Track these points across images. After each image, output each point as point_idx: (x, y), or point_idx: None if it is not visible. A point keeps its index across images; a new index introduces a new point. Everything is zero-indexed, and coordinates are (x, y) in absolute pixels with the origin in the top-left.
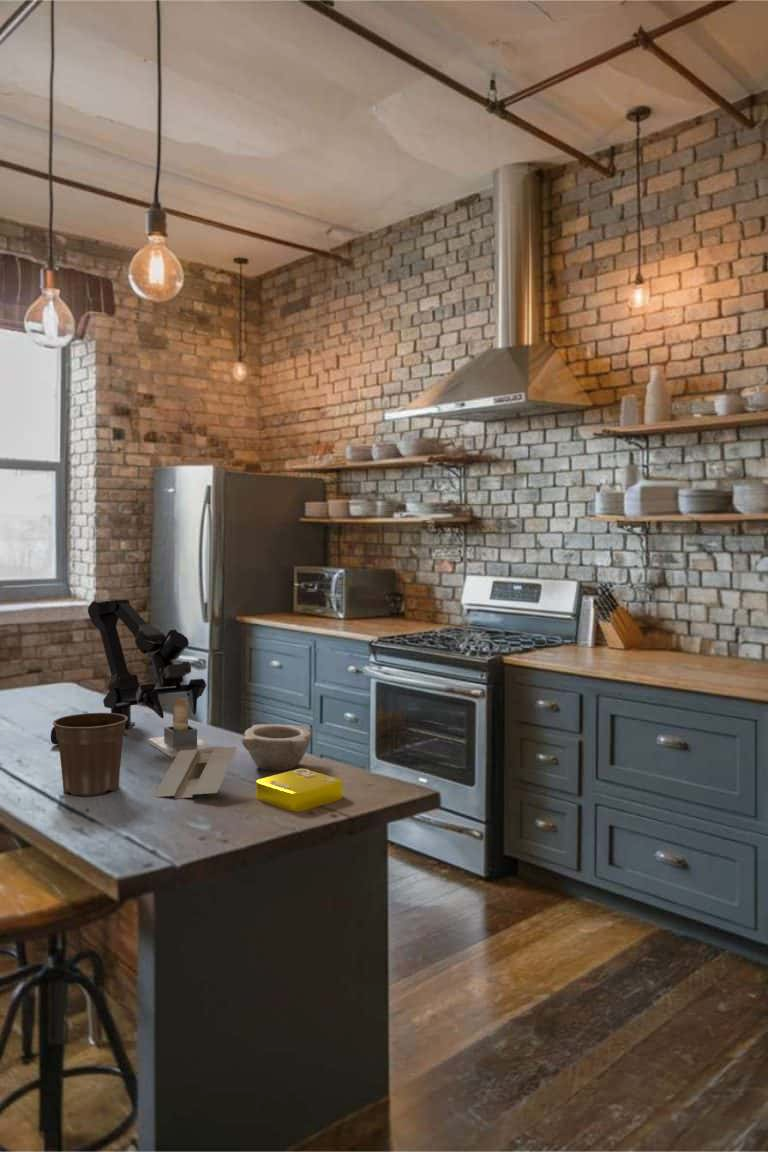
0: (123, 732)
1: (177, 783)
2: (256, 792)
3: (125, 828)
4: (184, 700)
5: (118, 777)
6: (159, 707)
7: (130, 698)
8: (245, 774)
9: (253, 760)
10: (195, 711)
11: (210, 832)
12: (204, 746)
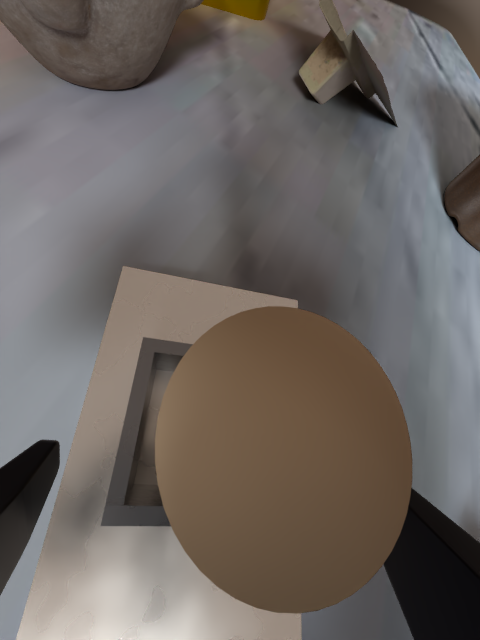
0: None
1: (374, 86)
2: (268, 3)
3: (440, 82)
4: (277, 308)
5: (465, 168)
6: (466, 545)
7: None
8: (203, 80)
9: (157, 61)
10: (40, 447)
11: (363, 16)
12: (150, 297)
